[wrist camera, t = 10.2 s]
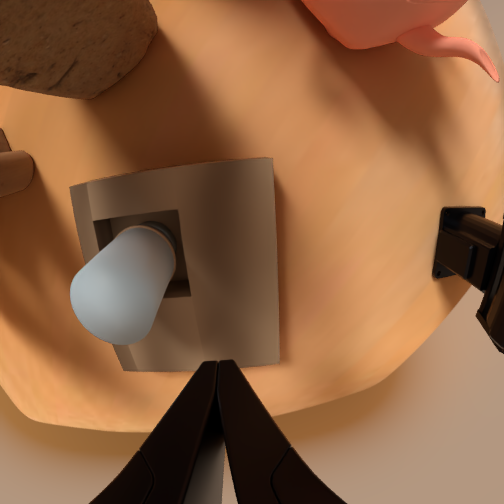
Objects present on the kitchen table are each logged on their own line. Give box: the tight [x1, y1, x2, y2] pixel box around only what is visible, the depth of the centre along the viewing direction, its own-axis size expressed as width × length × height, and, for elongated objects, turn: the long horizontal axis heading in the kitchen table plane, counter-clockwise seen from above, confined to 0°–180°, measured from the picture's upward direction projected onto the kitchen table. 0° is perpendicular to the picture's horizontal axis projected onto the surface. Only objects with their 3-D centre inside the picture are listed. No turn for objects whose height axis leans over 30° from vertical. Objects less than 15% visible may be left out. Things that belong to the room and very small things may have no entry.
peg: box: [70, 221, 177, 345], centre depth 14 cm, size 4×4×8 cm
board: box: [70, 157, 280, 372], centre depth 18 cm, size 12×14×3 cm
